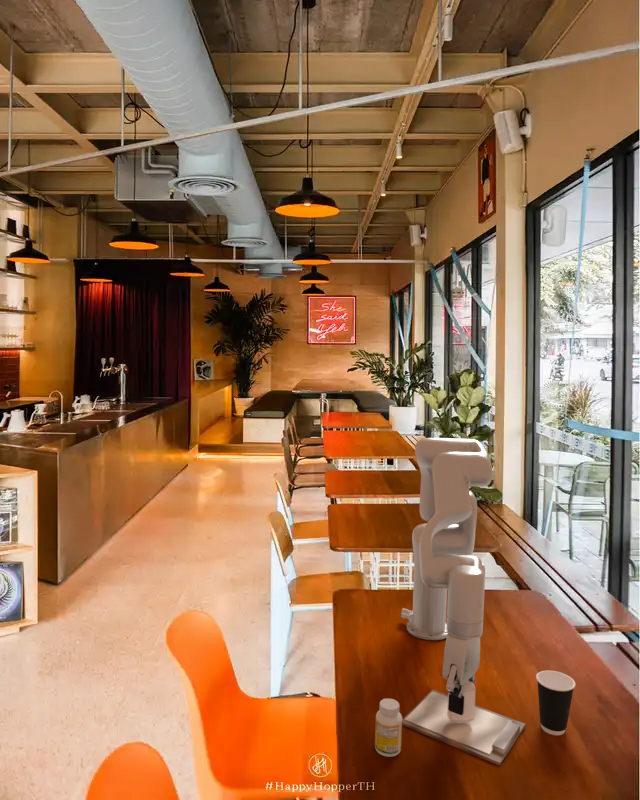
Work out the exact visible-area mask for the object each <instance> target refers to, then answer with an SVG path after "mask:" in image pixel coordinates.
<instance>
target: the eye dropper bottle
mask: <svg viewBox="0 0 640 800" xmlns="http://www.w3.org/2000/svg"><path fill="white" fill-rule="evenodd" d="M456 679H457V680H459V679H458V678H456ZM459 686H460V685H458V684H455V687H456V688H458V690H459ZM447 695H448V705H449V694H448V693H447ZM462 696H464V713H463V715H459V714H456V713H454V712H451V711H449V709H447V716H448V718H449V719H450V721H452V722H457V723H466V722H470V721H472V720H474V714H475V705H476V686H475V683H474V684H473V683H472V682H471V681H469V680H468V681H467V682H466V683H465V684H464V688H463V695H462Z"/></svg>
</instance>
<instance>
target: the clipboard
mask: <svg viewBox="0 0 640 800" xmlns="http://www.w3.org/2000/svg"><path fill="white" fill-rule="evenodd" d="M447 709H448V694H445V693H443V692H440V691H438V690H436V689H432V690H430V691H429V692H428V694H426V695H425V696H424V697H423V699H421V700H420V701H419V703H417V704H416V705H415V707H414V708H412V710H411V711H409V712H408V713H407V715H405V716H404V717H402V726H404V727H406V728H409V729H411V730H413V731H416V732H418V733H421V734H423V735H425V736H428V737H430V738H433V739H435V740H437V741H440V742H443V743H445V744H447V745H449V746H452V747H454V748H457V749H458V750H462V751H464V752H466V753H469V754H471V755H474V756H476V757H478V758H480V759H483V760H485V761H488V762H489V763H492V764H495V765H497V766H499V767H500V766H501V765H502V763H503V762H504V760H505V758H506V757H507V755H508V754H509V753H510V751H511V750H512V748H513V746H514V745H515V744H516V741H518V739H519V737H520V735H521V734H522V733H523V731H524V730H525V728H526V723H525V722H522V721H519V720H516V719H513V718H511V717H508V716H505V715H502V714H500V713H497V712H494V711H492V710H490V709H487V708H485V707H481V706H478V705H476V704H475V714H474V720H472V721H470V722H466V723H457V722H452V721H450V719H449V718H448V716H447Z"/></svg>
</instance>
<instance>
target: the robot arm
mask: <svg viewBox="0 0 640 800" xmlns="http://www.w3.org/2000/svg"><path fill="white" fill-rule="evenodd" d="M414 455H415V459H416V462H417V465H418V468H419V471H420V490H419V491H420V494H419V515H420V517H421V519H422V520H424V521H426V522H427V523H426V522H425V523H421V524H418V525H416V526H415V527H414V528H413V530H412V534H411V535H412V536H411V539H412V541H411V542H412V550H413V551H412V552H413V589H412V590H413V592H412V593H413V594H412V610H411V609H410V610H409V608H405V607H402V608H401V612H400V613H401V615H400V617H401V618H403V619H407V621H408V622H407V623H406V630H407V632H408V633H409V634H410V635H411V636H413V637H415V638H418V639H422V640H426V641H439V640H440V641H441V640H445V639H446V640H445V643H444V651H443V652H444V653H443V661H442V662H443V663H442V672H441V673H442V675H441V677H442V679H443V680H447V682H446V684H445V689H446V690H447V691H448V692H447V695H448V694H449V705H448V709H449V711H451V712H454V713H456V714H459V715H463V713H464V696H462V695H463V688H464V684H465V683H466V682H467V681H468V680H469V681H471V682H472V683H473V684H474V685H475V683H476V672H477V671H478V669H479V667H480V660H481V638H482V636H483V630H484V628H483V627H484V606H485V605H484V604H485V587H486V586H485V585H486V583H485V582H486V567H485V564H484V563H483V562H482V560H481V558H480V557H479V556H476V555H472V554H473V552H474V549H475V541H476V531H477V530H476V529H477V519H478V503H477V498H476V496H475V494H474V493H473V492H472V491H471V490H470V487H487V486H489V485H490V484H491V483H492V479H493V475H494V474H493V465H492V461H491V458H490V456H489V454H488V452H487V450H486V448H484V445H483V444H482V443H481V442H480V441H479V440H477V439H471V438H449V437H425V438H420V439H419V440H417V442H416V443H415V447H414ZM457 678H458V679H459V680H457ZM455 684H458V685H460V686H459V690H458V688H456V687H455Z"/></svg>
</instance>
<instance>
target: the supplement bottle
mask: <svg viewBox="0 0 640 800" xmlns="http://www.w3.org/2000/svg"><path fill="white" fill-rule="evenodd" d="M378 707H379V708H378V709H379V710H377V712H376V714H375V726H374V727H375V729H374V731H375V732H374V733H375V734H374V747H375V750H376V752H377V753H378V754H379V755H381V756H383V757H387V758H391V757H396V756H397V755H399V754H400V752H401V751H402V734H403V725H402V719H403V716H402V713H400V703H399V702H398V701H397V700H396V699H393V698H383V699H381V700H380V701H379V706H378Z"/></svg>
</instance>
